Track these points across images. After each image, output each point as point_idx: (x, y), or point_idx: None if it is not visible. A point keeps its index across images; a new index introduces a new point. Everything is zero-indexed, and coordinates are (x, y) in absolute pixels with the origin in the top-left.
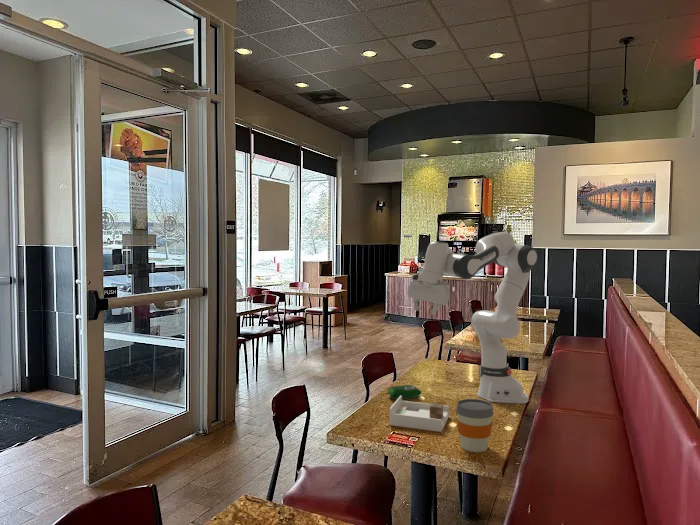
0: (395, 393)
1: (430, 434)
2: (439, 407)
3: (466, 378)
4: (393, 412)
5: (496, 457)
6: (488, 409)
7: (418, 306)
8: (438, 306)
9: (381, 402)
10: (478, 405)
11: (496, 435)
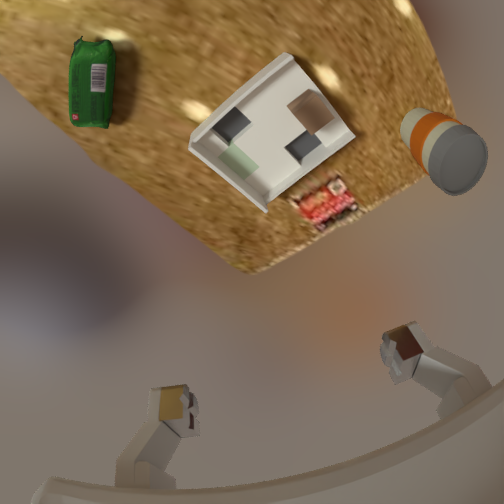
0: (108, 119)
1: (341, 151)
2: (330, 120)
3: None
4: (251, 189)
5: None
6: (485, 165)
7: (188, 425)
8: (473, 377)
9: (117, 149)
10: (465, 154)
11: (414, 55)
